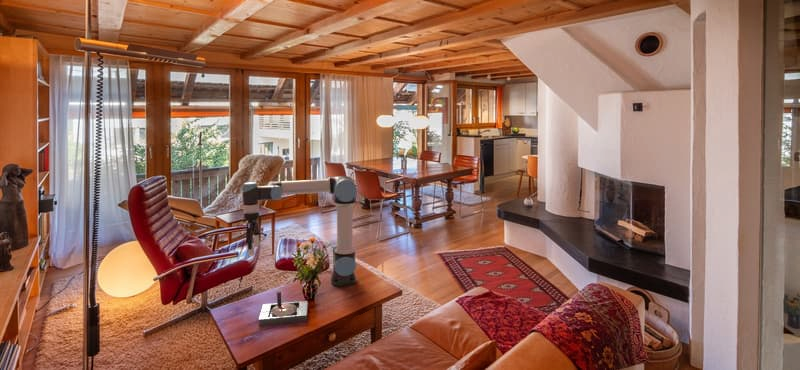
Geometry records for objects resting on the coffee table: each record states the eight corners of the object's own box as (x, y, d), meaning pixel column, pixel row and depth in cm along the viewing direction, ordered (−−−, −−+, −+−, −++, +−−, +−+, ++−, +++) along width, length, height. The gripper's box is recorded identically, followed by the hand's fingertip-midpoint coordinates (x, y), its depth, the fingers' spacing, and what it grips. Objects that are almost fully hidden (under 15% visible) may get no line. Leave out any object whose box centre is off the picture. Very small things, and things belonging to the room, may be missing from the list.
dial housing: (307, 307, 215) (307, 300, 214) (306, 321, 199) (306, 314, 199) (263, 310, 211) (263, 303, 210) (258, 326, 195) (258, 318, 195)
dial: (301, 313, 204) (300, 296, 203) (278, 320, 196) (277, 303, 195) (289, 304, 213) (289, 288, 212) (267, 311, 205) (266, 295, 204)
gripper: (249, 206, 229) (252, 243, 233) (237, 217, 205) (240, 258, 208) (263, 206, 230) (265, 243, 233) (253, 217, 206) (255, 258, 209)
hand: (253, 250), depth 221 cm, fingers open, 13 cm apart
